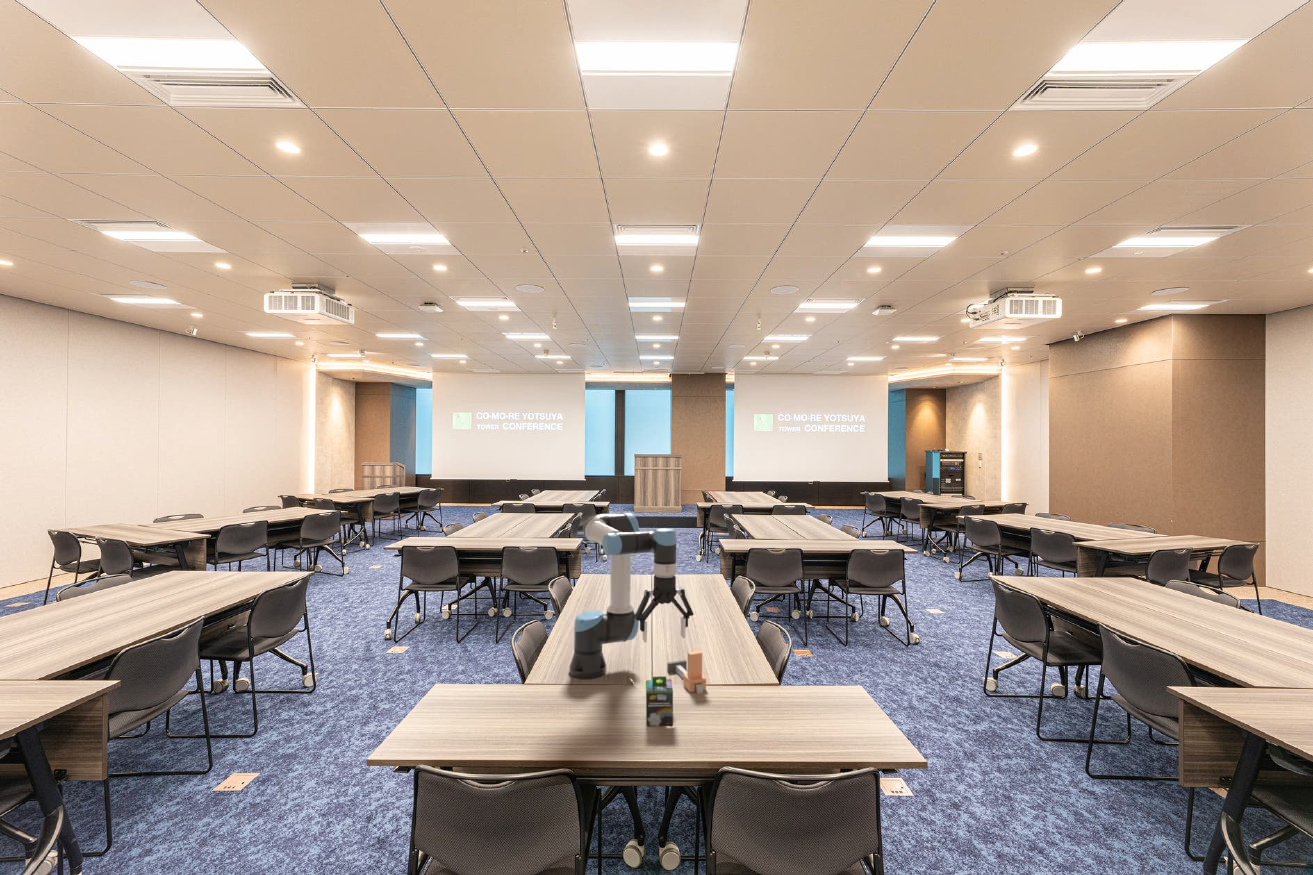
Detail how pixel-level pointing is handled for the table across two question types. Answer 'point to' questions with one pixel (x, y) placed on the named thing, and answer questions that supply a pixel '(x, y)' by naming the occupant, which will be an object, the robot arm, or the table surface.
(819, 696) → the table surface
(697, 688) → the rail
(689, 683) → the slider
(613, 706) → the table surface
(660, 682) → the chalk box
